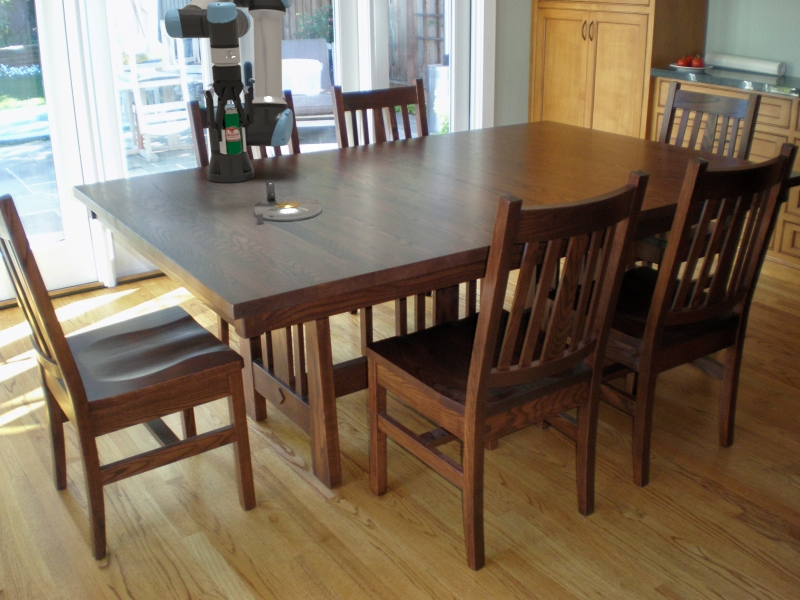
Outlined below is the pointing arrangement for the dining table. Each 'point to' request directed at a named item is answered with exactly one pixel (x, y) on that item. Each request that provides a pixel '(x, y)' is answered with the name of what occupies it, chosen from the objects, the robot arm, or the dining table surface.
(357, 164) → the dining table surface
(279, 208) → the turntable
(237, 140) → the soda can
